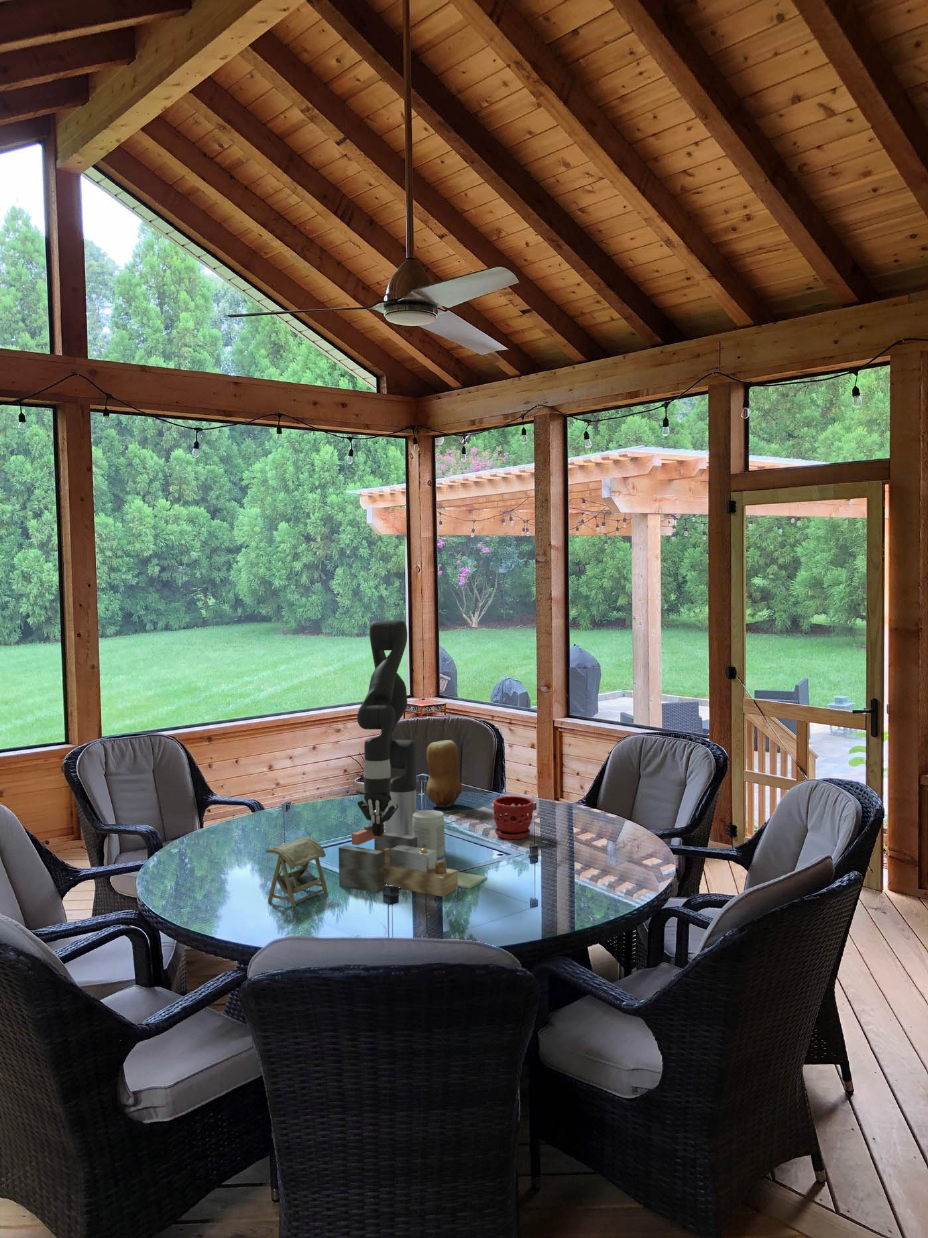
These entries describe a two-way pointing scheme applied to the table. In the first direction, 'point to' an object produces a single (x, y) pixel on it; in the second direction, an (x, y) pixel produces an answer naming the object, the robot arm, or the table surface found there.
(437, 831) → the supplement tub
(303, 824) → the table surface
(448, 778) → the butternut squash
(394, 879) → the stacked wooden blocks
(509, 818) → the plant pot
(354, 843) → the latch bar
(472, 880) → the mat
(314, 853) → the swing bench
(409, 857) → the block with brass knob
